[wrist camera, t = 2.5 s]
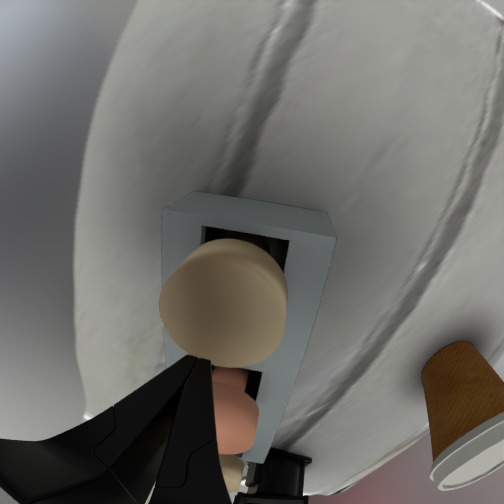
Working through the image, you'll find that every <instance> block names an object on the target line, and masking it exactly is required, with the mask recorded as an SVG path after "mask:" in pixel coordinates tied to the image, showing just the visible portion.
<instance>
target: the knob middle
mask: <svg viewBox="0 0 504 504" xmlns="http://www.w3.org/2000/svg"><path fill="white" fill-rule="evenodd" d="M248 375H249V369H244V368H239V367H238V368H228V367H220V366H215V367H214V369H213V372H212V382H213V396H214V409H215V421H216V433H217V442H218V452H219V454H227V455H231V454H239V453H243V452H246V451H248V450H249V449H251V447H252V446H253V444H254V439H255V434H256V428H257V423H258V418H259V408H258V405H257V403H256V402H255V401H254V400H253V399H252V398H251V397H250V396H249V395H248V394H246V393H245V392H244V391H245V387H246V383H247V379H248Z"/></svg>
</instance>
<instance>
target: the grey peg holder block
mask: <svg viewBox="0 0 504 504" xmlns="http://www.w3.org/2000/svg"><path fill="white" fill-rule="evenodd" d="M206 226H209V227H215V228H221V229H227V230H233V231H239V232H244V233H250V234H256V235H262V236H268V237H273V238H279V239H285V240H289V246H288V251H287V256H286V262H285V267H284V272H283V274H284V276H285V279H286V282H287V287H288V300H287V310H286V320H285V329H284V334H283V337H282V340H281V342H280V344H279V346H278V347H277V348H276V350H275V351H274V352H273V353H272V354H271V355H270V356H268V357H267V358H266V359H264V360H262V361H260V362H258V363H256V364H253V365H250V366H245V367H239V368H244V369H249V370H254V371H260V372H262V376H261V381H260V385H259V389H258V394H257V398H256V403H257V405H258V408H259V418H258V423H257V428H256V434H255V439H254V444H253V446H252V447H251V449H249V450H248V451H246V452H243V453H239V454H233V455H235V456H236V457H238V458H239V459H241V460H244V461H249V462H255V463H261V464H263V463H264V461H265V459H266V456H267V454H268V451H269V449H270V447H271V444H272V442H273V439H274V437H275V434H276V432H277V429H278V427H279V424H280V421H281V419H282V416H283V414H284V411H285V408H286V406H287V403H288V400H289V397H290V395H291V392H292V389H293V386H294V383H295V381H296V378H297V375H298V372H299V369H300V366H301V363H302V360H303V357H304V354H305V351H306V348H307V344H308V341H309V338H310V335H311V332H312V328H313V325H314V322H315V318H316V315H317V311H318V308H319V305H320V301H321V297H322V294H323V290H324V287H325V283H326V279H327V275H328V272H329V268H330V264H331V260H332V256H333V252H334V248H335V244H336V239H337V237H336V235H335V232H334V229H333V226H332V223H331V221H330V218H329V215H328V213H326V212H321V211H316V210H310V209H305V208H299V207H294V206H288V205H282V204H276V203H270V202H264V201H258V200H252V199H245V198H239V197H232V196H225V195H218V194H211V193H204V192H196V191H193V192H192V193H190V194H188V195H186V196H184V197H183V198H181V199H179V200H177V201H175V202H174V203H172V204H170V205H168V206H167V207H165V208H163V209H162V248H161V254H162V288H163V286H164V284H165V282H166V281H167V280H168V279H169V277H170V276H171V275H172V274H173V273H174V271H175V270H176V269H177V268H178V267H179V266H180V265H181V264H182V262H183V261H184V260H185V259H186V258H187V257H188V256H189V255H190V253H191V252H193V251H194V250H195V249H196V248H197V247H199V246H201V245H202V244H205V231H206ZM164 338H165V352H166V364H167V368H168V367H170V366H171V365H172V364H174V363H175V362H177V361H178V360H179V359H181V358H182V357H184V356H185V355H187V354H188V353H187V352H185V351H184V350H183V349H182V348H180V347H179V346H178V345H177V344H176V343H175V342H174V340H173V339H172V338H171V337H170V335H169V334H168V332H167V330H166V329H165V327H164ZM189 355H190V354H189Z"/></svg>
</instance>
